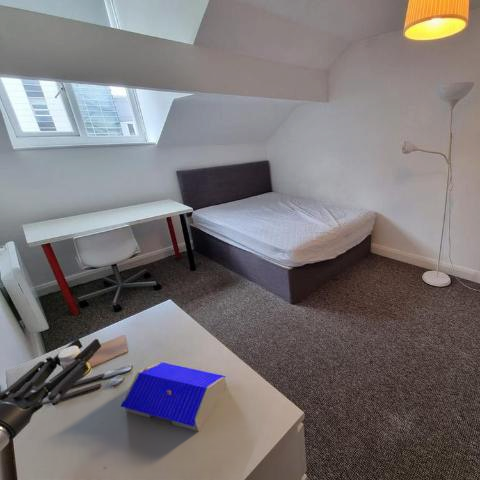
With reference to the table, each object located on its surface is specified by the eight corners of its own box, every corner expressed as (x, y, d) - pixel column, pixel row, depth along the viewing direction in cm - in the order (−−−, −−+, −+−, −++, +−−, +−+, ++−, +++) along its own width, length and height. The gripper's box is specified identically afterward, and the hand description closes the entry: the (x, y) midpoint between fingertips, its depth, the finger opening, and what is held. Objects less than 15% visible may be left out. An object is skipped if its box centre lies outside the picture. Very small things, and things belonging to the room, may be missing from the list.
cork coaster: (89, 349, 90) (89, 348, 90) (124, 335, 96) (124, 334, 96) (89, 368, 83) (89, 367, 83) (127, 352, 89) (127, 351, 89)
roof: (124, 414, 70) (114, 395, 67) (164, 369, 82) (157, 351, 79) (196, 434, 64) (189, 415, 61) (228, 383, 77) (223, 365, 74)
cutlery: (54, 405, 73) (53, 403, 72) (64, 386, 78) (63, 384, 78) (128, 382, 78) (127, 380, 78) (132, 365, 84) (131, 363, 83)
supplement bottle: (96, 367, 74) (84, 345, 71) (81, 383, 70) (67, 359, 66) (81, 366, 74) (68, 344, 71) (64, 381, 70) (50, 358, 67)
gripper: (-39, 442, 55) (64, 352, 76) (43, 444, 54) (124, 352, 76) (-61, 419, 52) (52, 332, 73) (25, 420, 51) (114, 332, 73)
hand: (88, 342), depth 74 cm, fingers closed on supplement bottle, 5 cm apart
